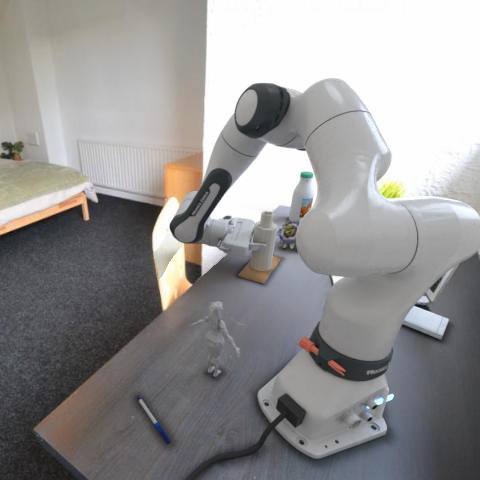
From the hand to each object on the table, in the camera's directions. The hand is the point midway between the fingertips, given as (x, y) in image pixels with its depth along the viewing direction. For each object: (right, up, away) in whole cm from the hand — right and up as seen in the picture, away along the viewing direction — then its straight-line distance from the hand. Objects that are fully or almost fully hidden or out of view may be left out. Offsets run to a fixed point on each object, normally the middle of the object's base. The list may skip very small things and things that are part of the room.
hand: (267, 239), depth 101 cm
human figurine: (-22, -28, -32) cm, 48 cm away
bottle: (-1, -8, +5) cm, 9 cm away
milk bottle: (+25, +8, +36) cm, 45 cm away
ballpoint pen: (-34, -33, -41) cm, 62 cm away
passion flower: (+15, -2, +17) cm, 23 cm away
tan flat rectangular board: (-1, -8, +5) cm, 10 cm away
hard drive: (+30, -20, -19) cm, 40 cm away
